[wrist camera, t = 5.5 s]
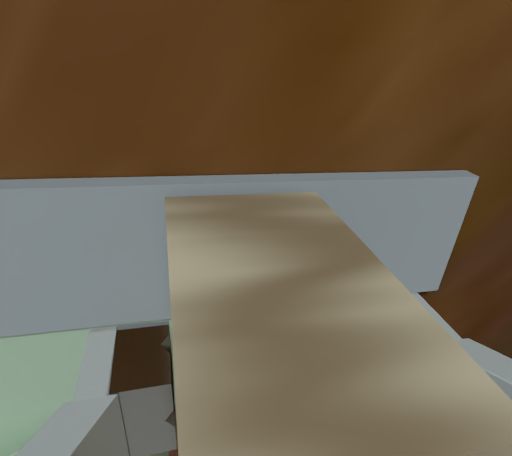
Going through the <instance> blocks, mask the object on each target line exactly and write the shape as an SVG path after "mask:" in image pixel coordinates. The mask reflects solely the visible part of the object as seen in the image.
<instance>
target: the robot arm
mask: <svg viewBox="0 0 512 456" xmlns="http://www.w3.org/2000/svg"><path fill="white" fill-rule="evenodd" d="M409 292H410V293H411V294H412V295H413V296H414V297H415V298H416V299H417V300H418V301H419V302H420V303H421V304H422V305H423V306H424V307H425V309H426V310H427V311H428V312H429V313H430V314H431V315H432V316H433V317H434V318H435V319H436V320H437V321H438V322H439V323H440V324H441V326H442V327H443V328H444V329H445V330H446V331H447V332H448V333H449V334H450V335H451V336H452V337H453V338H454V339H455V340H456V342H457V343H458V344H459V345H460V346H461V347H462V348H463V349H464V350H465V351H466V352H467V353H468V354H469V355H470V356H471V357H472V359H473V360H474V361H475V362H476V363H477V364H478V365H479V366H480V367H481V368H482V369H483V370H484V371H485V372H486V373H487V375H488V376H489V377H490V378H491V379H492V380H493V381H494V382H495V383H496V384H497V385H498V386H499V387H500V388H501V389H502V390H503V392H504V393H505V394H506V395H507V396H508V397H509V398H510V399H511V400H512V359H511V358H509V357H507V356H504V355H502V354H500V353H498V352H496V351H494V350H492V349H490V348H488V347H486V346H484V345H481V344H479V343H477V342H475V341H473V340H471V339H469V338H467V339H462V338H461V337H460V336H459V335H458V334H457V333H456V332H455V331H454V330H453V329H452V328H451V327H450V326H449V325H448V324H447V323H446V322H445V321H444V320H443V319H442V318H441V317H440V316H439V315H438V314H437V313H436V311H435V310H434V309H433V308H432V307H431V306H430V305H429V304H428V303H427V302H426V301H425V300H424V299H423V298H422V297H421V296H420V295H419V294H418V293H416V292H414V291H409ZM175 449H177V440H176V418H175V403H174V381H173V365H172V351H171V340H170V328H169V321H162V322H152V323H142V324H132V325H121V326H118V327H106V328H96V329H91V330H90V332H89V334H88V335H87V340H86V345H85V349H84V354H83V358H82V363H81V368H80V372H79V377H78V382H77V386H76V391H75V395H74V400H73V401H70V402H64V403H63V404H62V405H61V406H60V408H59V409H58V410H57V411H56V412H55V413H54V414H53V415H52V416H51V417H50V418H49V419H48V420H47V421H46V423H45V424H44V425H43V426H42V427H41V428H40V429H39V430H38V431H37V432H36V433H35V434H34V435H33V437H32V438H31V439H30V440H29V441H28V442H27V443H26V444H25V445H24V446H23V447H22V448H21V449H20V450H19V452H18V453H17V454H16V455H15V456H148V455H152V454H157V453H161V452H166V451H170V450H175Z"/></svg>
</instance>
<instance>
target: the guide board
mask: <svg viewBox="0 0 512 456" xmlns="http://www.w3.org/2000/svg"><path fill="white" fill-rule="evenodd" d="M478 179H479V176H477V175H475V174H472V173H470V172H468V171H466V170H449V171H400V172H352V173H304V174H255V175H207V176H158V177H110V178H62V179H13V180H0V337H8V336H17V335H27V334H36V333H45V332H55V331H64V330H73V329H82V328H92V327H101V326H110V325H120V324H129V323H138V322H147V321H157V320H166V319H171V308H170V289H169V270H168V252H167V233H166V214H165V197H180V196H210V195H240V194H270V193H300V192H316V193H317V194H318V195H319V196H320V197H321V198H322V199H323V200H324V201H325V202H326V203H327V204H328V205H329V206H330V207H331V209H332V210H333V211H334V212H335V213H336V214H337V215H338V216H339V217H340V218H341V219H342V220H343V221H344V222H345V223H346V224H347V226H348V227H349V228H350V229H351V230H352V231H353V232H354V233H355V234H356V235H357V236H358V237H359V238H360V239H361V240H362V242H363V243H364V244H365V245H366V246H367V247H368V248H369V249H370V250H371V251H372V252H373V253H374V254H375V255H376V256H377V257H378V259H379V260H380V261H381V262H382V263H383V264H384V265H385V266H386V267H387V268H388V269H389V270H390V271H391V272H392V273H393V274H394V276H395V277H396V278H397V279H398V280H399V281H400V282H401V283H402V284H403V285H404V286H405V287H406V288H407V289H408V290H409V291H414V292H426V291H435V290H438V287H439V285H440V282H441V279H442V277H443V274H444V271H445V268H446V266H447V263H448V260H449V257H450V255H451V252H452V249H453V247H454V244H455V241H456V238H457V236H458V233H459V230H460V228H461V225H462V222H463V219H464V217H465V214H466V211H467V208H468V206H469V203H470V200H471V198H472V195H473V192H474V189H475V187H476V184H477V181H478Z"/></svg>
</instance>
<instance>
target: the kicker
mask: <svg viewBox="0 0 512 456" xmlns="http://www.w3.org/2000/svg"><path fill="white" fill-rule="evenodd" d="M165 214H166V233H167V252H168V270H169V289H170V308H171V327H172V345H173V364H174V383H175V402H176V408H175V418H176V440H177V449H175V450H170V451H169V456H512V400H511V399H510V398H509V397H508V396H507V395H506V394H505V393H504V392H503V390H502V389H501V388H500V387H499V386H498V385H497V384H496V383H495V382H494V381H493V380H492V379H491V378H490V377H489V376H488V375H487V373H486V372H485V371H484V370H483V369H482V368H481V367H480V366H479V365H478V364H477V363H476V362H475V361H474V360H473V359H472V357H471V356H470V355H469V354H468V353H467V352H466V351H465V350H464V349H463V348H462V347H461V346H460V345H459V344H458V343H457V342H456V340H455V339H454V338H453V337H452V336H451V335H450V334H449V333H448V332H447V331H446V330H445V329H444V328H443V327H442V326H441V324H440V323H439V322H438V321H437V320H436V319H435V318H434V317H433V316H432V315H431V314H430V313H429V312H428V311H427V310H426V309H425V307H424V306H423V305H422V304H421V303H420V302H419V301H418V300H417V299H416V298H415V297H414V296H413V295H412V294H411V293H410V292H409V290H408V289H407V288H406V287H405V286H404V285H403V284H402V283H401V282H400V281H399V280H398V279H397V278H396V277H395V276H394V274H393V273H392V272H391V271H390V270H389V269H388V268H387V267H386V266H385V265H384V264H383V263H382V262H381V261H380V260H379V259H378V257H377V256H376V255H375V254H374V253H373V252H372V251H371V250H370V249H369V248H368V247H367V246H366V245H365V244H364V243H363V242H362V240H361V239H360V238H359V237H358V236H357V235H356V234H355V233H354V232H353V231H352V230H351V229H350V228H349V227H348V226H347V224H346V223H345V222H344V221H343V220H342V219H341V218H340V217H339V216H338V215H337V214H336V213H335V212H334V211H333V210H332V209H331V207H330V206H329V205H328V204H327V203H326V202H325V201H324V200H323V199H322V198H321V197H320V196H319V195H318V194H317V193H316V192H300V193H270V194H240V195H210V196H180V197H165Z"/></svg>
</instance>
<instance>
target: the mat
mask: <svg viewBox="0 0 512 456" xmlns="http://www.w3.org/2000/svg"><path fill="white" fill-rule="evenodd" d="M162 321H169V328H170V340H171V351H172V365H173V381H174V364H173V345H172V327H171V319H166V320H157V321H147V322H138V323H129V324H120V325H110V326H101V327H92V328H82V329H73V330H64V331H55V332H45V333H36V334H27V335H17V336H8V337H0V456H9V455H11V454H12V453H14V452H16V451H18V450H20V449H21V448H22V447H23V446H24V445H25V444H26V443H27V442H28V441H29V440H30V439H31V438H32V437H33V435H34V434H35V433H36V432H37V431H38V430H39V429H40V428H41V427H42V426H43V425H44V424H45V423H46V421H47V420H48V419H49V418H50V417H51V416H52V415H53V414H54V413H55V412H56V411H57V410H58V409H59V408H60V406H61V405H62V404H63V403H64V402H70V401H73V400H74V395H75V391H76V386H77V382H78V377H79V372H80V368H81V363H82V358H83V354H84V349H85V345H86V340H87V335H88V334H89V332H90V330H91V329H96V328H106V327H118V326H121V325H132V324H142V323H152V322H162ZM174 403H175V408H176V402H175V383H174ZM148 456H169V451H166V452H161V453H157V454H152V455H148Z"/></svg>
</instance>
